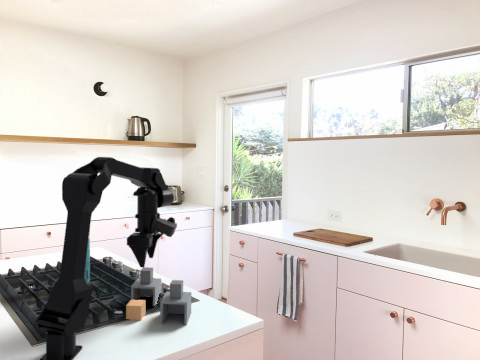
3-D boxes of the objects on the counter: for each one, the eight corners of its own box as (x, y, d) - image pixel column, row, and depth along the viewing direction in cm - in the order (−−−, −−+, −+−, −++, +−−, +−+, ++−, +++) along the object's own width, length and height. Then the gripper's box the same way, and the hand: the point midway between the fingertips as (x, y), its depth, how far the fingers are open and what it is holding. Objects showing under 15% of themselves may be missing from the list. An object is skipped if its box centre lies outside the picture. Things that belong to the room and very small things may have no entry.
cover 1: (155, 307, 105) (155, 273, 104) (131, 306, 105) (131, 272, 105) (160, 297, 112) (161, 265, 111) (138, 296, 112) (138, 265, 112)
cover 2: (186, 324, 95) (187, 287, 94) (160, 323, 95) (160, 286, 94) (191, 313, 102) (191, 278, 101) (166, 312, 102) (166, 277, 101)
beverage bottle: (82, 291, 116) (82, 228, 114) (64, 289, 117) (63, 227, 115) (94, 284, 122) (94, 225, 120) (77, 282, 123) (76, 223, 122)
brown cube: (140, 320, 97) (141, 306, 96) (126, 320, 97) (126, 305, 97) (145, 314, 101) (145, 300, 100) (131, 313, 101) (131, 299, 101)
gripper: (167, 216, 97) (166, 273, 98) (180, 206, 116) (180, 254, 117) (126, 215, 98) (125, 272, 99) (146, 205, 116) (145, 253, 117)
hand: (146, 262), depth 108 cm, fingers open, 9 cm apart
